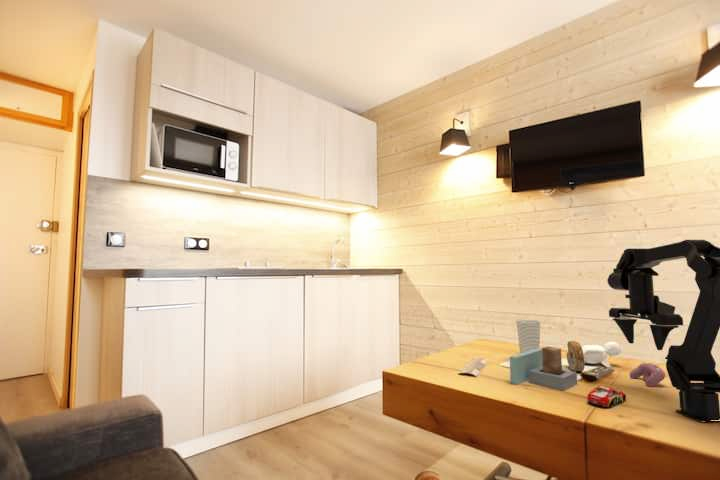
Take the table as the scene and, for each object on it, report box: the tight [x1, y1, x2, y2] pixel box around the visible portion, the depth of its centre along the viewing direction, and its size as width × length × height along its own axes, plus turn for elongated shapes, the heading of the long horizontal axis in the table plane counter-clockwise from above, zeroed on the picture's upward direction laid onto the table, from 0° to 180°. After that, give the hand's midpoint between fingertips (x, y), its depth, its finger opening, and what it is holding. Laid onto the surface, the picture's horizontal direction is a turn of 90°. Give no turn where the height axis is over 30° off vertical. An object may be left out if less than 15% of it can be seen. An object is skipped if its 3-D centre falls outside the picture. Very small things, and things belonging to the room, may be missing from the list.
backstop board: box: [509, 347, 543, 386], centre depth 115 cm, size 2×20×8 cm, turn 130°
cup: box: [515, 319, 541, 354], centre depth 135 cm, size 8×8×16 cm
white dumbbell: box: [581, 341, 622, 369], centre depth 132 cm, size 9×8×15 cm
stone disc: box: [565, 340, 585, 372], centre depth 124 cm, size 10×4×10 cm, turn 163°
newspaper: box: [457, 357, 489, 378], centre depth 127 cm, size 24×7×2 cm, turn 151°
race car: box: [587, 385, 627, 409], centre depth 94 cm, size 13×5×4 cm, turn 122°
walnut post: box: [542, 346, 563, 375], centre depth 110 cm, size 4×4×10 cm
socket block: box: [528, 366, 578, 392], centre depth 109 cm, size 10×10×4 cm
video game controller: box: [629, 361, 666, 387], centre depth 110 cm, size 10×5×7 cm, turn 169°
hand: (644, 346), depth 101 cm, fingers open, 9 cm apart
